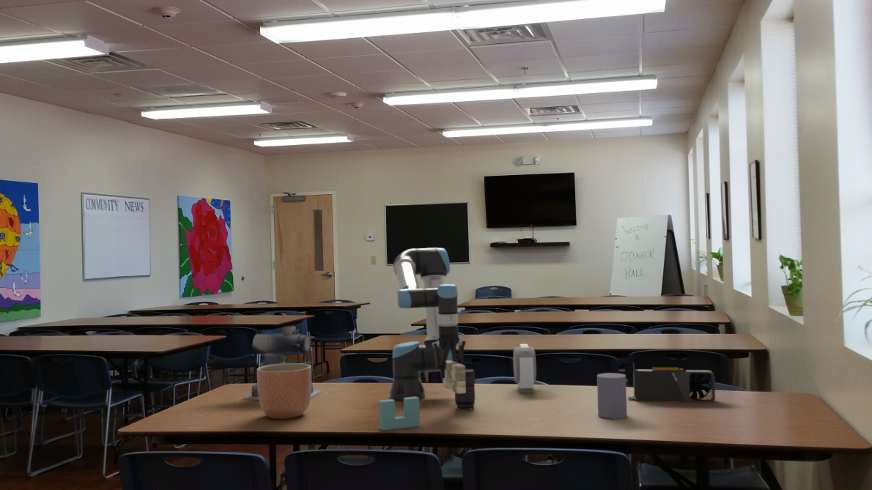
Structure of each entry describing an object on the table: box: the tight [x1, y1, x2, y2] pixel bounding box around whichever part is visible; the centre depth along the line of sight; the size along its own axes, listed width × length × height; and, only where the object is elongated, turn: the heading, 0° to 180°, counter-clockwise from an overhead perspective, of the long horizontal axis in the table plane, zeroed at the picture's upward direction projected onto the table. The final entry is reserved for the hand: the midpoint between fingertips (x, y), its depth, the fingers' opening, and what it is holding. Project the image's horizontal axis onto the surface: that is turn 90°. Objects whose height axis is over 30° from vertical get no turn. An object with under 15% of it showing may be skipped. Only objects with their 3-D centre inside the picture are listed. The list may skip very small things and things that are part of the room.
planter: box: [256, 362, 312, 420], centre depth 291 cm, size 21×21×19 cm
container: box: [596, 372, 628, 420], centre depth 275 cm, size 10×10×15 cm
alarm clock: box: [512, 343, 537, 394], centre depth 329 cm, size 18×8×20 cm, turn 179°
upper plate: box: [444, 360, 466, 394], centre depth 282 cm, size 14×3×10 cm, turn 21°
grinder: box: [241, 326, 323, 401], centre depth 333 cm, size 18×31×31 cm, turn 79°
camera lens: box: [454, 368, 476, 410], centre depth 296 cm, size 8×8×15 cm
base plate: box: [378, 397, 421, 431], centre depth 267 cm, size 14×3×10 cm, turn 111°
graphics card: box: [627, 362, 716, 403], centre depth 299 cm, size 33×5×14 cm, turn 76°
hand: (449, 385), depth 286 cm, fingers closed on upper plate, 3 cm apart
